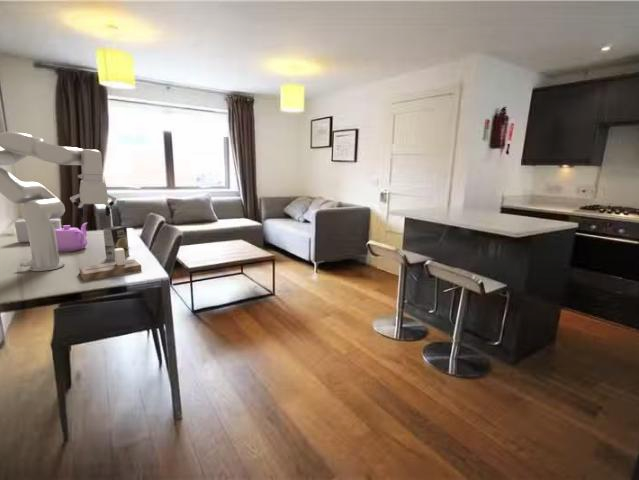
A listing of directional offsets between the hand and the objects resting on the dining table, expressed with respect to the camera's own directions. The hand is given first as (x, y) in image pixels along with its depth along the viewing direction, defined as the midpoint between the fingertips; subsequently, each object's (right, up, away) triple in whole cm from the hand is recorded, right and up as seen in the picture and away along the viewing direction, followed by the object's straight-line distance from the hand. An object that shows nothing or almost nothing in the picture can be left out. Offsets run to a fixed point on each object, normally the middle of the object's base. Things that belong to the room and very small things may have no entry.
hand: (94, 216), depth 150 cm
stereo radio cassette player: (-69, -12, +53) cm, 88 cm away
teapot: (-39, -16, +39) cm, 57 cm away
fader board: (+7, -26, +1) cm, 27 cm away
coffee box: (-4, -20, +24) cm, 32 cm away
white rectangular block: (+10, -22, +2) cm, 24 cm away
